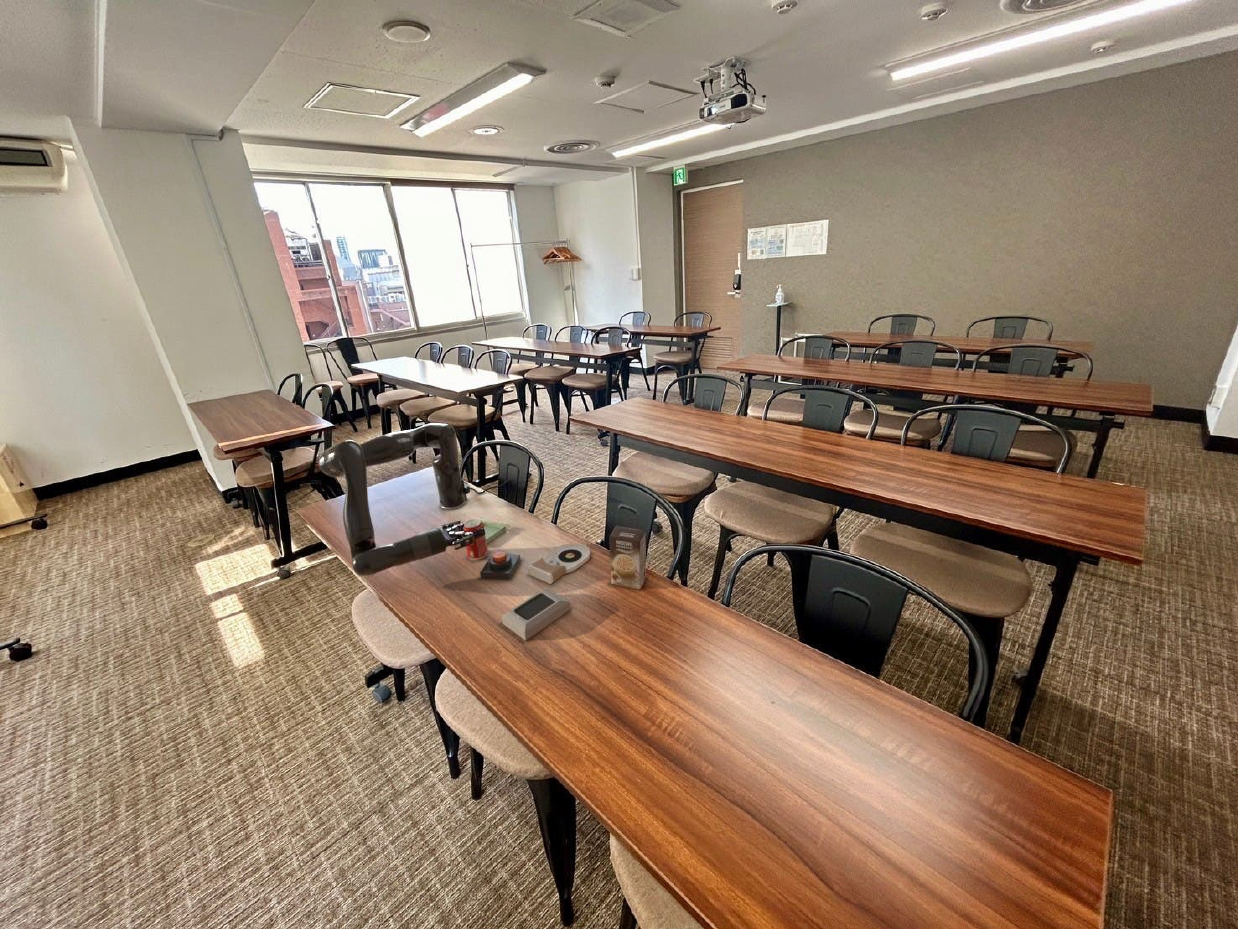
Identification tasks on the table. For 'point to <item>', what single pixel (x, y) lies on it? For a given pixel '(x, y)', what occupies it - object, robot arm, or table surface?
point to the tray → (492, 530)
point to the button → (499, 557)
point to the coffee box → (628, 556)
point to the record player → (560, 562)
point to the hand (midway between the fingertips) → (480, 526)
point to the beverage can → (476, 540)
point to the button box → (500, 567)
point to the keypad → (535, 613)
